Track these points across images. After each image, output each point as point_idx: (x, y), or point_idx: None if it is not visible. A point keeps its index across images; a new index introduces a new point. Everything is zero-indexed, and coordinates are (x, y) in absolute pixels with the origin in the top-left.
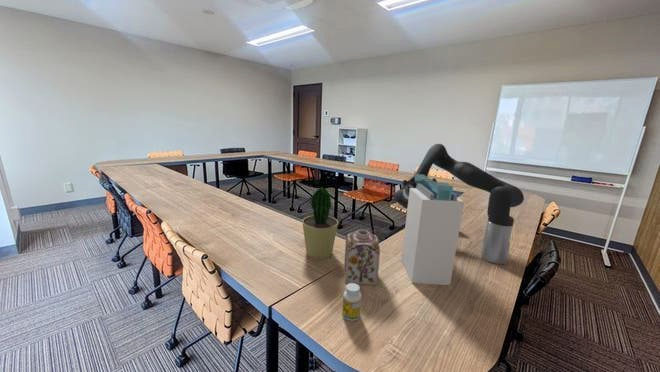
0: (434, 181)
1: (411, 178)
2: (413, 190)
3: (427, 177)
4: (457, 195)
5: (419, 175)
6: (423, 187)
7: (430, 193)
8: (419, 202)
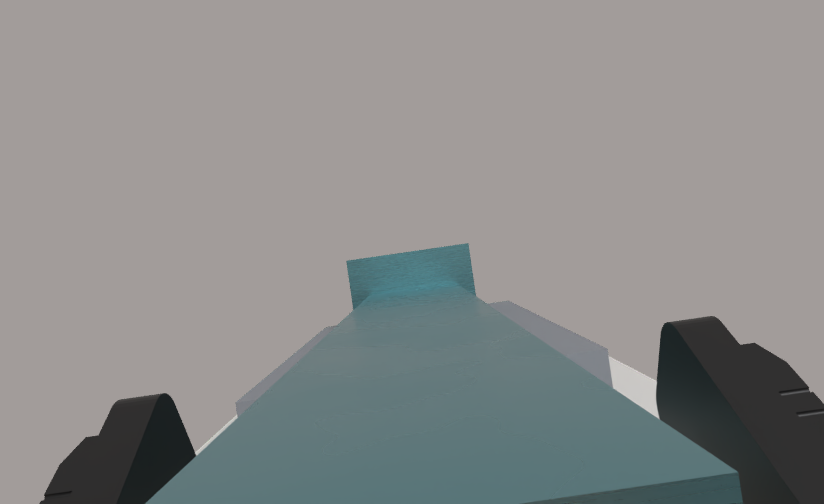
0: (351, 315)
1: (755, 343)
2: (651, 387)
3: (314, 362)
4: (326, 327)
5: (488, 398)
6: (533, 323)
7: (507, 302)
8: None
